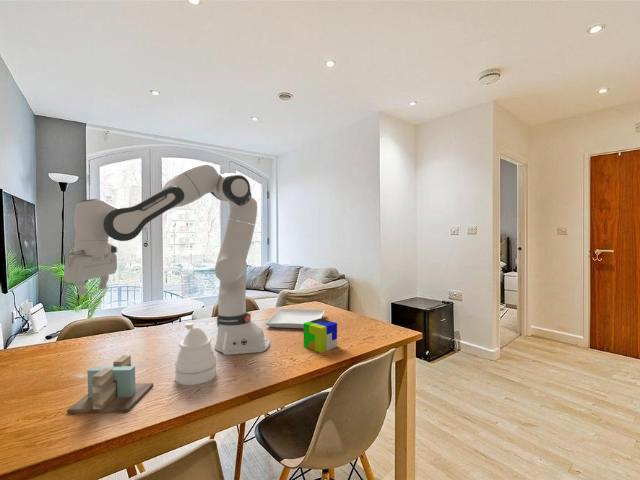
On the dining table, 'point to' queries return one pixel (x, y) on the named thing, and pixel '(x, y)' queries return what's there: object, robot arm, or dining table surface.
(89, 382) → the green arch block
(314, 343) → the puzzle toy
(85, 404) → the stand
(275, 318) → the square plate
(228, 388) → the dining table surface
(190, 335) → the honey pot
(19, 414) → the dining table surface
